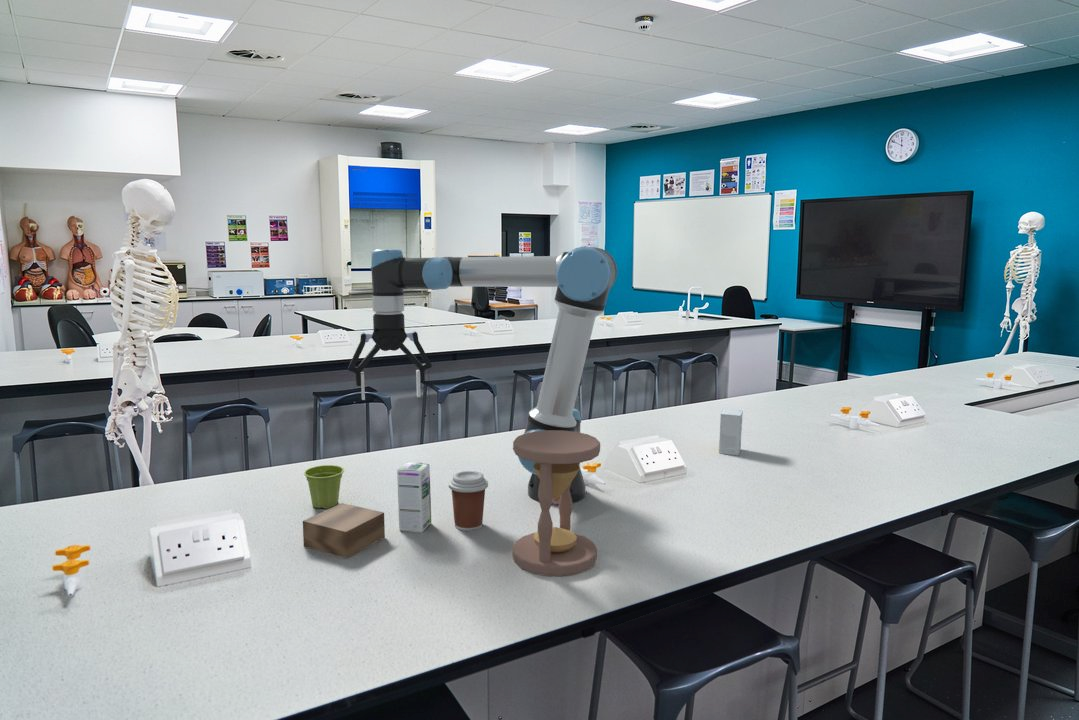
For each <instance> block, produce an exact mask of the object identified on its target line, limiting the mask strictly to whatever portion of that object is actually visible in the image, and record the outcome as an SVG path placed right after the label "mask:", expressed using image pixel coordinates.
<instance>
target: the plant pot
mask: <svg viewBox="0 0 1079 720" xmlns="http://www.w3.org/2000/svg"><path fill="white" fill-rule="evenodd" d="M344 472H345V468H343V467H342V466H341V465H336V464H335V465H334V464H324V465H317V466H312V467H310V468H308V469H306V470H304V472H303V475H304V476H305V478H306V481H307V483H308V488H309V493H310V500H311V505H312V507H314V508H316V509H320V508H322V509H330V508H333V507H335V506H337V505H338V503H339V497H340V489H341V480H342V477H343V474H344Z"/></svg>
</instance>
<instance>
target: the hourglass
mask: <svg viewBox="0 0 1079 720" xmlns="http://www.w3.org/2000/svg"><path fill="white" fill-rule="evenodd" d="M512 450H513V452H514V454H515V455H516V456H517V457H518V456H519V457H521V458H522V459H525V460H529V461H533V462H537V463H535V464H534V465H533V467H534V470H535V472H536V474H537V476H538V477H539V479H540V483H539V489H538V498H539V501H538V503H539V506H540V510H541V511H540V515H539V518H538V522H537V531H536V532H532V533H529V534H526V535H524V536H521V537H520V538H519V539H517V540H516V541H515V543H514V544H513V547H512V552H511V553H512V558H513V560H514V564H516V565H517V566H519V568H521V570H524V571H527V572H529V573H531V574H535V575H540V576H541V575H542V576H546V577H568V576H574V575H578V574H581V573H583V572H586V571H588V570H590V569H591V568H592V567H593V566H594V565H595V564H596V563H597V558H598V548H597V546H596V544H595V543H594V542H593V540H591V539H589V538H587V537H586V536H584V535H580V534H577V533H575V532H574V531H572V530H571V520H572V519H571V516H572V511H573V502H572V498H571V494H570V490H569V489H570V486H571V482H572V480H573V479H574V477H575V476H576V475H577V472H578V470H579V467H580V466H579V465H578V464H577V463H584V462H589V461H591V460H594V459H596V458H598V456H599V455H600V452H601V442H600V441H599V439H597V437H594V436H593V435H590V434H587V433H583V432H580V433H579V432H573V431H563V430H546V431H535V432H530V433H525V434H524V433H523V434H520V435H518V436H517V437H516V438H515V439H514V441H513V442H512ZM580 468H581V467H580ZM559 498H560V499H559ZM552 504H553V505H558V514H559V527H558V526H554V525H553V520H552V516H551V512H550V510H551V506H552ZM553 526H554V527H553Z"/></svg>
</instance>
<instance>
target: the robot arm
mask: <svg viewBox="0 0 1079 720" xmlns="http://www.w3.org/2000/svg"><path fill="white" fill-rule="evenodd" d="M370 264H371V266H370V270H371V271H370V272H371V286H372V287H371V288H372V293H371V294H372V311H373V312H374V314H373V315H372V322H373V325H372V327H373V332H372V333H365V332H363V331H362V332H360V333H361V334H360V341H359V344H358V345H357V347H356V349H355V352H354V354H353V356H352V358H351V360H350V362H349V364H348V368H347V369H348V372H351V373H354V374H355V381H356V382H355V383H356V386H357V387H361V389H360V390H361V391H360V392H361V400H362V401H366V391H365V387H366V386H365V372H364V369H365V368H366V366H368V364H369V363H370V362H371V360H372V359H373V358H374V357H375V356H376V354H377V353H379V351H380V350H381V351H383V352H387V351H393V352H394V351H397V350H399V349H400V350H401V351H402V352H403V354H405V355H406V357H408V358H409V360H410V361H411V362H412V363H413V365H415V367H417V368H418V369H415V375H416V377H415V379H416V383H415V384H416V397H417V398H421V396H422V394H421V393H422V392H421V391H422V388H421V384H425V380H426V379H425V377H426V376H425V371H426V370H428V369H431V368H432V367H433V366H432V363H431V361H430V359H429V357H428V356H427V354H426V352H425V350H424V348H423V347H422V344H421V343H420V341H419V335H418V332H417V330H412V331H411V332H406V330H405V325H406V324H405V314H404V313H403V312H404V311H405V300H404V299H405V298H404V296H405V294H404V293H405V292H404V290H411V289H412V290H413V289H414V290H432V291H435V290H436V291H437V290H438V291H439V290H447V289H448V288H450V287H453V288H454V287H456V288H459V287H461V288H462V287H486V288H487V287H488V288H489V287H491V288H492V287H493V288H496V287H501V288H502V287H505V288H506V287H508V288H509V287H510V288H511V287H513V288H515V287H516V288H518V287H519V288H523V287H524V288H528V287H529V288H530V287H531V288H532V287H533V288H535V287H536V288H537V287H538V288H542V287H543V288H549V287H550V288H552V287H553V288H556V291H555V296H554V300H553V301H554V303H555V304H556V306H557V307H558V313H557V317H556V322H555V325H554V331H553V334H552V338H551V343H550V347H549V351H548V357H547V361H546V364H545V365H546V366H545V369H544V375H543V378H542V382H541V388H540V391H539V396H538V400H537V404H536V406H535V407H534V408H532V409H531V410H529V412H528V416H527V419H526V425H525V427H524V428H525V429H524V433H523V434H525V433H530V432H535V431H546V430H563V431H573V432H579V433H581V423H582V419H581V412H580V411H579V409H577V408H575V405H576V401H577V400H576V399H577V396H578V393H579V387H580V383H581V380H582V377H583V372H584V371H583V370H584V368H585V362H586V358H587V354H588V350H589V345H590V341H591V337H592V333H593V329H594V324H595V320H596V318H597V317H598V316H599V315H601V314H603V313H604V311H605V307H606V303H607V300H608V295H609V291H610V290H611V289H612V287H613V286H614V284H615V282H616V279H617V277H618V276H617V275H618V266H617V264H616V261H615V259H614V257H613V256H612V255H611V253H609V252H608V251H606V250H604V249H602V248H599V247H595V246H580V247H579V246H578V247H575V248H573V249H571V250H570V251H563V252H562V253H561V254H560V255H547V256H545V255H542V256H540V255H538V256H535V255H534V256H532V255H531V256H529V255H528V256H525V255H524V256H464V257H463V256H462V257H461V256H456V257H455V256H443V257H437V256H436V257H406V256H405V257H404V255H403V251H402V250H401V249H374V250H373V251H372V252H371V263H370ZM407 338H408V339H409V340H410V341H411V342H413V344H414V345H415V347H416V349H417V351H418V353H419V355H420V357H421V358H422V361H423V362H424V363H421V362H420V361H419V360H418V359H417V357H416V356H415V355H414V354H413V353H412V352H411V351H410V350H409V348H407V346H406V345H405V344H404V342H405V341H406V340H407ZM370 340H372V341H373V342H374V343H375V344H374V345H373V347H372V348H371V350H370V351H369V352H368V353H367V355H365V357H364V358H363V360H362V361H361V362H360V363H359V364H358V365H357V366H356V364H357V362H358V360H359V358H360V356H361V354H362V352H363V351H364V348H365V346H366V343H368V342H369V341H370ZM517 458H518V461H519V462H520V464H521V465H522V467H523V468H524V469H525V470H526V471H528V472H529V473H530V478H529V481H528V484H527V495H528V496H529V497H530V498H531V499H533V500H535V501H538V502H539V498H538V489H539V483H540V479H539V477H538V476H537V474H536V472H535V470H534V467H533V465H534V464H535V463H537V462H533V461H529V460H525V459H522V458H521V457H519V456H517ZM577 464H578V465H579V466H580V463H577ZM586 488H587V487H586V483H585V479H584V476H583V472H582V469H581V467H579V470H578V472H577V475H576V476H575V477H574V479H573V480H572V482H571V486H570V489H569V490H570V494H571V498H572V503H574V502H575V503H576V502H578V501H581V500H583V499H584V498H585V497H586V494H587V493H586V492H587V490H586ZM559 499H560V498H559Z"/></svg>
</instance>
